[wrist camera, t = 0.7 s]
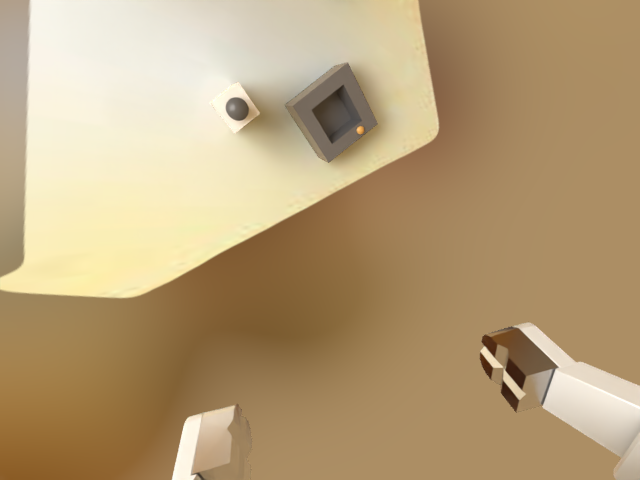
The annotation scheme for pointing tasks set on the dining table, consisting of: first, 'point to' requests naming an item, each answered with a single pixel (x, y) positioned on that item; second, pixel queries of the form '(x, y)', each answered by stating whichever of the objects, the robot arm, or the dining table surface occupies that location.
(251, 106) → the plug
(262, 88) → the dining table surface
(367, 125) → the socket block
